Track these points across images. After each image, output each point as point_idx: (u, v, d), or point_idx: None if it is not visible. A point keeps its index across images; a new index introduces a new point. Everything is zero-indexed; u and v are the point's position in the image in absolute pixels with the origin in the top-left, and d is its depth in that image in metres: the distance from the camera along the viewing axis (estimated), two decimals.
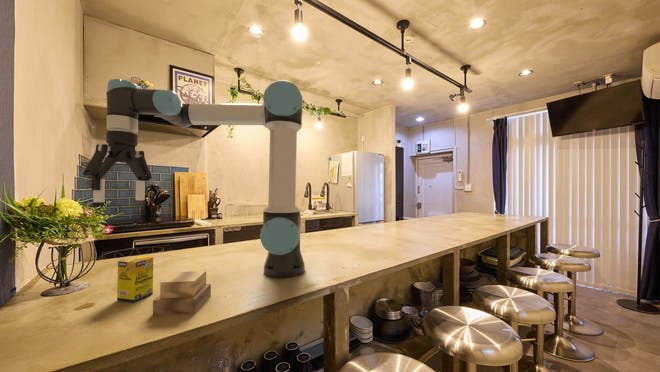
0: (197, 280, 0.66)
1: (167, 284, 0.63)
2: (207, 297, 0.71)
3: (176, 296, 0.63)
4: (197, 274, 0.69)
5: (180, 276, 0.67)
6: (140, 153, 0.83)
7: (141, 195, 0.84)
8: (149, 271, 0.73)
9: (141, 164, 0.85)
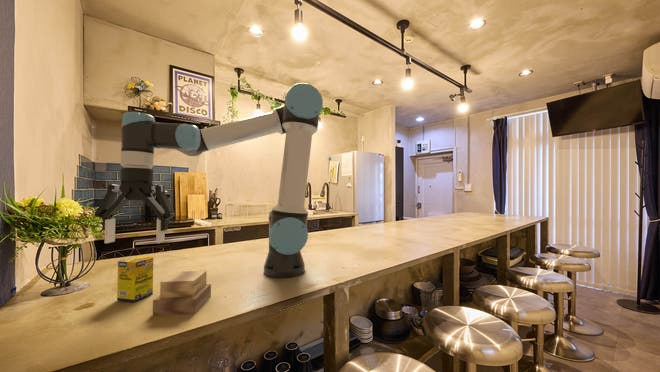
0: (197, 279, 0.66)
1: (167, 284, 0.63)
2: (207, 297, 0.70)
3: (176, 296, 0.64)
4: (197, 274, 0.69)
5: (180, 276, 0.67)
6: None
7: None
8: (149, 271, 0.73)
9: None
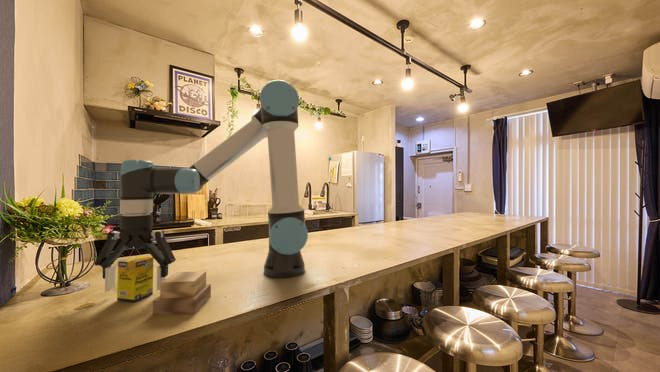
0: (197, 280, 0.66)
1: (167, 284, 0.63)
2: (207, 297, 0.70)
3: (176, 296, 0.63)
4: (197, 274, 0.69)
5: (180, 276, 0.67)
6: None
7: None
8: (149, 271, 0.73)
9: None
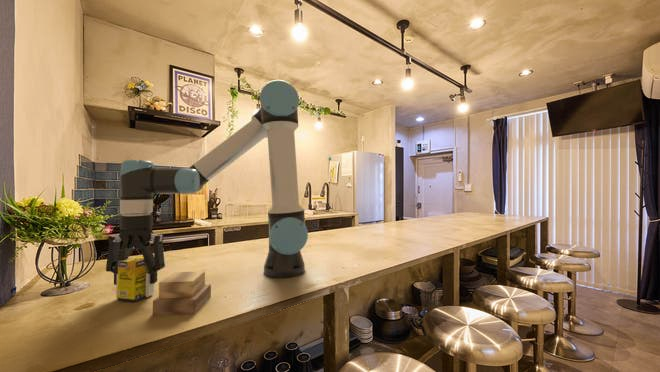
0: (196, 280, 0.66)
1: (166, 284, 0.63)
2: (207, 298, 0.70)
3: (175, 296, 0.63)
4: (195, 274, 0.69)
5: (179, 276, 0.67)
6: None
7: None
8: None
9: None
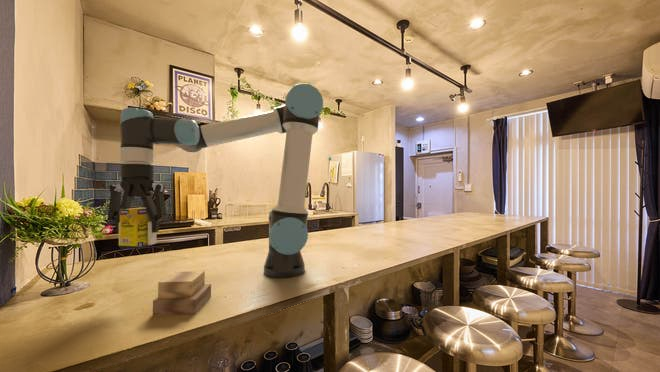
0: (195, 280, 0.66)
1: (165, 284, 0.63)
2: (207, 297, 0.70)
3: (174, 296, 0.63)
4: (195, 274, 0.69)
5: (179, 276, 0.67)
6: None
7: None
8: None
9: None
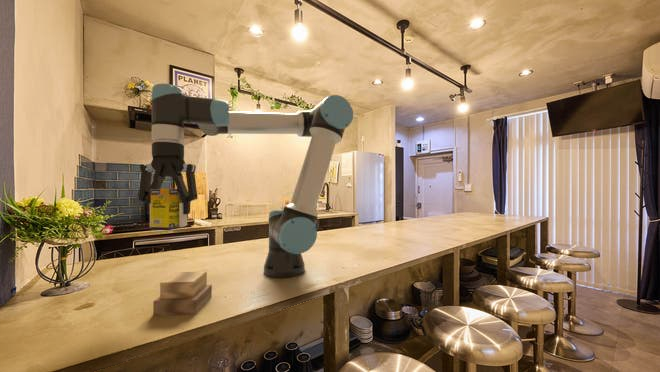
0: (197, 280, 0.66)
1: (167, 285, 0.63)
2: (208, 298, 0.70)
3: (176, 296, 0.63)
4: (197, 274, 0.69)
5: (180, 276, 0.67)
6: None
7: None
8: None
9: None
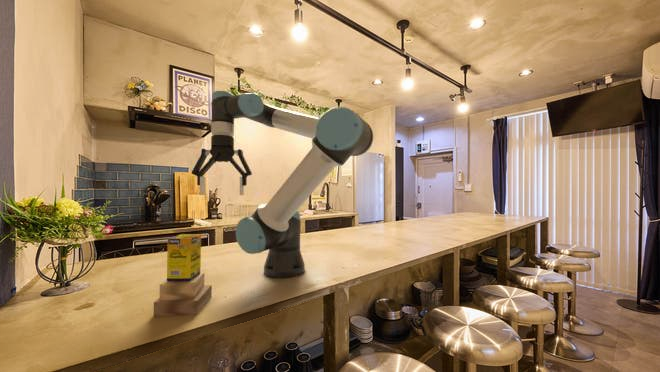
0: (197, 281, 0.65)
1: (167, 286, 0.62)
2: (208, 298, 0.70)
3: (176, 298, 0.62)
4: None
5: None
6: (238, 151, 0.91)
7: None
8: (199, 249, 0.68)
9: None
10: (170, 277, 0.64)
